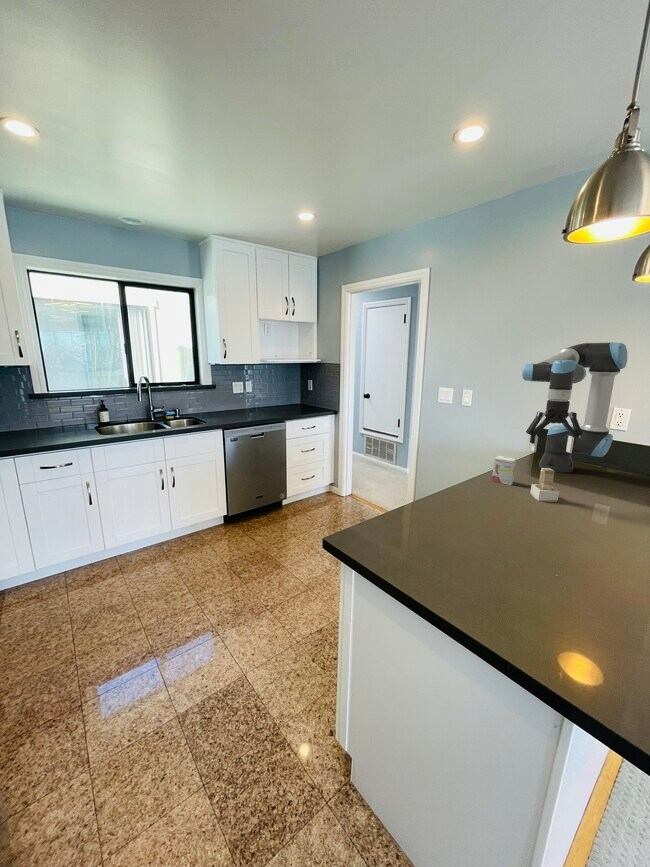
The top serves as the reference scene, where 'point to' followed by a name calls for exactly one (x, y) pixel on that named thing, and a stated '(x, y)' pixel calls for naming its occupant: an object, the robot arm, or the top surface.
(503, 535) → the top surface
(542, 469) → the tan wooden block
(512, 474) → the ink box
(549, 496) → the white square open box
